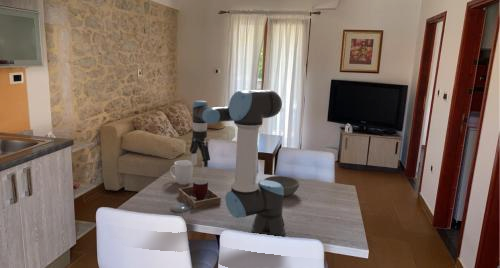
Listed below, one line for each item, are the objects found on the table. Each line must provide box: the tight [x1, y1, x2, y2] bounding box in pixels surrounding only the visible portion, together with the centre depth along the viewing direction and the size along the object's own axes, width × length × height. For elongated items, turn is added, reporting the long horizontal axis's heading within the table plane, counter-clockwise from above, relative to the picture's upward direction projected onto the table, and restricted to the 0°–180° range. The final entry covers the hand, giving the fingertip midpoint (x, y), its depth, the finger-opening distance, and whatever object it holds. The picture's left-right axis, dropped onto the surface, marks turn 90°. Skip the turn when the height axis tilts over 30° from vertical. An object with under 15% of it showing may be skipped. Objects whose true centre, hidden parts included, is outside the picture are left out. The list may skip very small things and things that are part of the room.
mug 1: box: [169, 159, 194, 186], centre depth 220 cm, size 15×11×13 cm
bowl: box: [263, 175, 300, 197], centre depth 208 cm, size 21×21×8 cm
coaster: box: [170, 202, 191, 213], centre depth 185 cm, size 10×10×1 cm
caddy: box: [178, 185, 222, 210], centre depth 196 cm, size 22×15×4 cm
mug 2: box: [191, 178, 209, 201], centre depth 195 cm, size 11×8×10 cm
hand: (199, 168), depth 193 cm, fingers open, 13 cm apart
